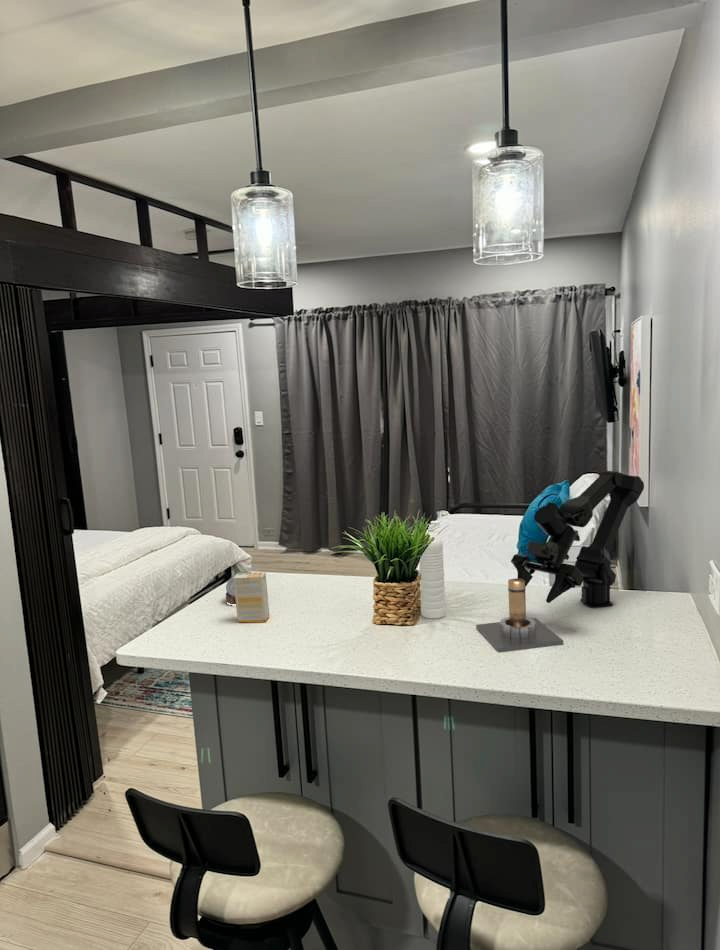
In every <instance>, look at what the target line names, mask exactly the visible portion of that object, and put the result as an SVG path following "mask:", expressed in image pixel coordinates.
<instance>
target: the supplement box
mask: <svg viewBox="0 0 720 950" xmlns="http://www.w3.org/2000/svg"><path fill="white" fill-rule="evenodd" d="M237 573H238V574H237ZM237 573H236V574H237V575H236V576H235V577H234V578H233V579H234V589H235V599H236V607H235V608H236V618H237V623H238V622H247V623H266V622H267V621H268V620H269V618H270V617H269V616H270V606H269V596H268V595H269V593H268V586H267V585H268V583H267V574H266V573H267V572H266V571H259V572H258V571H257V572H252V573H239V572H237ZM267 619H268V620H267Z"/></svg>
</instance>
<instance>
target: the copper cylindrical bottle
mask: <svg viewBox="0 0 720 950" xmlns="http://www.w3.org/2000/svg"><path fill="white" fill-rule="evenodd" d="M507 581H508V583H507V586H508V588H507V592H508V617H509V624H510V626H513V627H523V626H526V617H527V606H526V605H527V603H526V600H527V599H526V597H527V596H526V587H525V580H523V579H518V577H517V578H510V579H508V580H507Z"/></svg>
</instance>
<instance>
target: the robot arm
mask: <svg viewBox="0 0 720 950" xmlns="http://www.w3.org/2000/svg"><path fill="white" fill-rule="evenodd" d="M644 489H645V484H644V481H643V480H642V478H641V477H640V476H639V475H628V474H624V473H622V472H619V471H616V470H603V471H601V472H600V474H599V476H598V477H597V478H596V479H595V480H594V481H593V482H592V483H591V484H590V485H589V486H588V487H587V488H586V489H585V490H584V491H583V492H582V493H581V494H580V495H578V496H577V497H573V498H569V499H568V500H565V502H563V503H561V505H560V506H559V507H558V505H557V504H556V502H552V501H548V502H547V504H546V505H543V506H541V507H539V509H538V510H536V511H535V513H534V515H533V516H534V517H533V519H534V521H535V522H536V524H537V525H538V526H539V527H540V528H541V530H542V531H543V532H544V534H545V535H546V536H548V540H547V541H542V542H537V541H531V540H528V544H527V547H526V552H525V553H526V554H527V555H525V554H524V555H523V554H521V553H515V554H514V555H513V556H512V557H511V560H510V562H511V563H512V565H513V567H514V568H515V569H516V572H517V578H518V579H523V580H525V588H526V587H527V586H528V584H529V583H530V581H531V580H532V579H533V574H535V572H537V571H538V572H543V573H546V574H550V575H554V582H553V584H552V586H551V588H550V590H549V592H548V593H547V596H546V599H545V602H546V603H548V604H550V603H552V601H554V600H556V599H557V598H559V596H561V595H562V594H564V593H566V592H567V591H569V590H570V589H572V588H573V589H575V588H576V587H581V598H580V602H582V603H583V604H585V605H586V606H588V607H590V608H592V609H593V608H599V607H600V608H601V607H602V608H603V607H610V606H613V605H614V603H613V602H612V601H611V589H610V588H611V586H613V585H614V584H615V582H616V577H617V575H616V573H615V572H614V570H613V569H612V568H611V566H612V565H611V564H612V562H611V561H612V560H611V557H610V551H611V548H612V545H613V543H614V541H615V538H616V537H617V534H618V531H619V530H620V527H621V524H622V522H623V520H624V518H625V515H626V513H627V510H628V508H630V507H631V506H632V505H633V504H635V503H636V502H637V501H639V498H640V496H641V495H642V493H643V492H644ZM608 495H609V499H610V500H609V503H608V505H607V507H606V510H605V512H604V515H603V516H602V519H601V520H600V523H599V525H598V526H599V527H598V528H597V530H596V533H595V535H594V537H593V540H592V543H590V544H589V546H584V545H583V546H582V547H580V550H579V553H578V555H577V557H575V558H576V561H575V564H574V565H573V564H568V563H564V561H565V560H566V561H569V558H570V556H569V554H568V553H569V551H570V549H571V547H572V546H573V543H574V541H575V542H580V540H581V537H580V534H579V531H578V530H576V529H574V528H573V527H576V528H585V527H586V526H587V525H588V524H589V522H590V521H591V519H592V518H593V516H594V514H593V513H594V510H595V508H597V506H598V505H599V504H601V502H602V501H603V500H604V499H605V498H606V497H607V496H608ZM528 555H532V556H533V557H532V559H533V560H535V561H533V560H532V559H531V557H530V556H528Z"/></svg>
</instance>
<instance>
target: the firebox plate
mask: <svg viewBox="0 0 720 950" xmlns="http://www.w3.org/2000/svg"><path fill="white" fill-rule="evenodd" d="M475 629H476V630H477V631H478V632H479V633H480V635H481V636H483V637H484V639H485V640H486V641H487V642H488V643H489V644H490V645H491V646H492V647H493V648H494V649H495V650H496V651H497V652H498V653H502V652H503V653H504V652H511V651H518V650H519V651H520V650H528V649H535V648H545V647H552V646H553V647H554V646H560V645H564V640H563V639H562V638H561V637H560V636H559V635H557V634H556V633H555V632H554V631H552V629H550V628H549V627H548V626H546V625H545V624H544V623H543V622H542V621H540V619H537V618H536V617H532V618H531V617H527V616H526V626H523V627H513V626H510V624H509V616H507V617H504V618H502V619H500V621H497V622H489V623H480V624H475Z"/></svg>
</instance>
